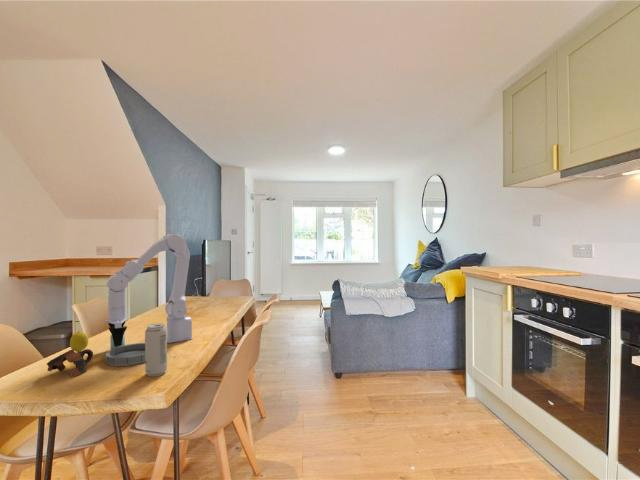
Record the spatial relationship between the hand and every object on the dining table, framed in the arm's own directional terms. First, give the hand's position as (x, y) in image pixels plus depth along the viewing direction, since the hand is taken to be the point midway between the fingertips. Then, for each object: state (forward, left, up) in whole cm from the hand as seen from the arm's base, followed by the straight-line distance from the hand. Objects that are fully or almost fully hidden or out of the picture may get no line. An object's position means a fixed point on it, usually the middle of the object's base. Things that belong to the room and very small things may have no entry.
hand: (117, 343), depth 124 cm
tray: (-4, +12, -3) cm, 13 cm away
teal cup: (0, 0, -3) cm, 3 cm away
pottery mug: (+13, +15, -3) cm, 20 cm away
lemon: (+12, -6, -3) cm, 14 cm away
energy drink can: (-9, +32, -3) cm, 33 cm away
